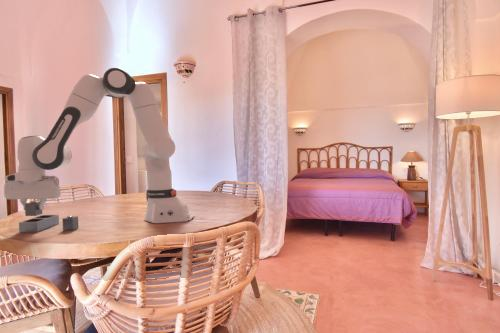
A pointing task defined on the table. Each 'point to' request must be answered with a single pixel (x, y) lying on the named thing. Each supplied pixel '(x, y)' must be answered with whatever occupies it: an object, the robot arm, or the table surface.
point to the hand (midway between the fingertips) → (33, 209)
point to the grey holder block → (38, 223)
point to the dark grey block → (70, 223)
